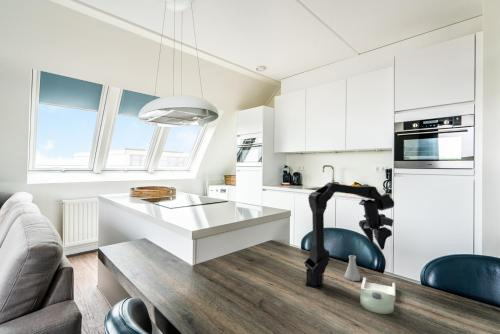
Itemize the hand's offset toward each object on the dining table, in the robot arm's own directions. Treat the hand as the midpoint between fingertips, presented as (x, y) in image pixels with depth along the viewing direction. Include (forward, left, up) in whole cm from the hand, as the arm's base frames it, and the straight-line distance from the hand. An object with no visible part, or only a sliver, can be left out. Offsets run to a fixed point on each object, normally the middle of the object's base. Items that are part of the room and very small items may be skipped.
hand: (377, 245), depth 118 cm
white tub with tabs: (+1, -21, -15) cm, 25 cm away
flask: (-10, -6, -15) cm, 19 cm away
